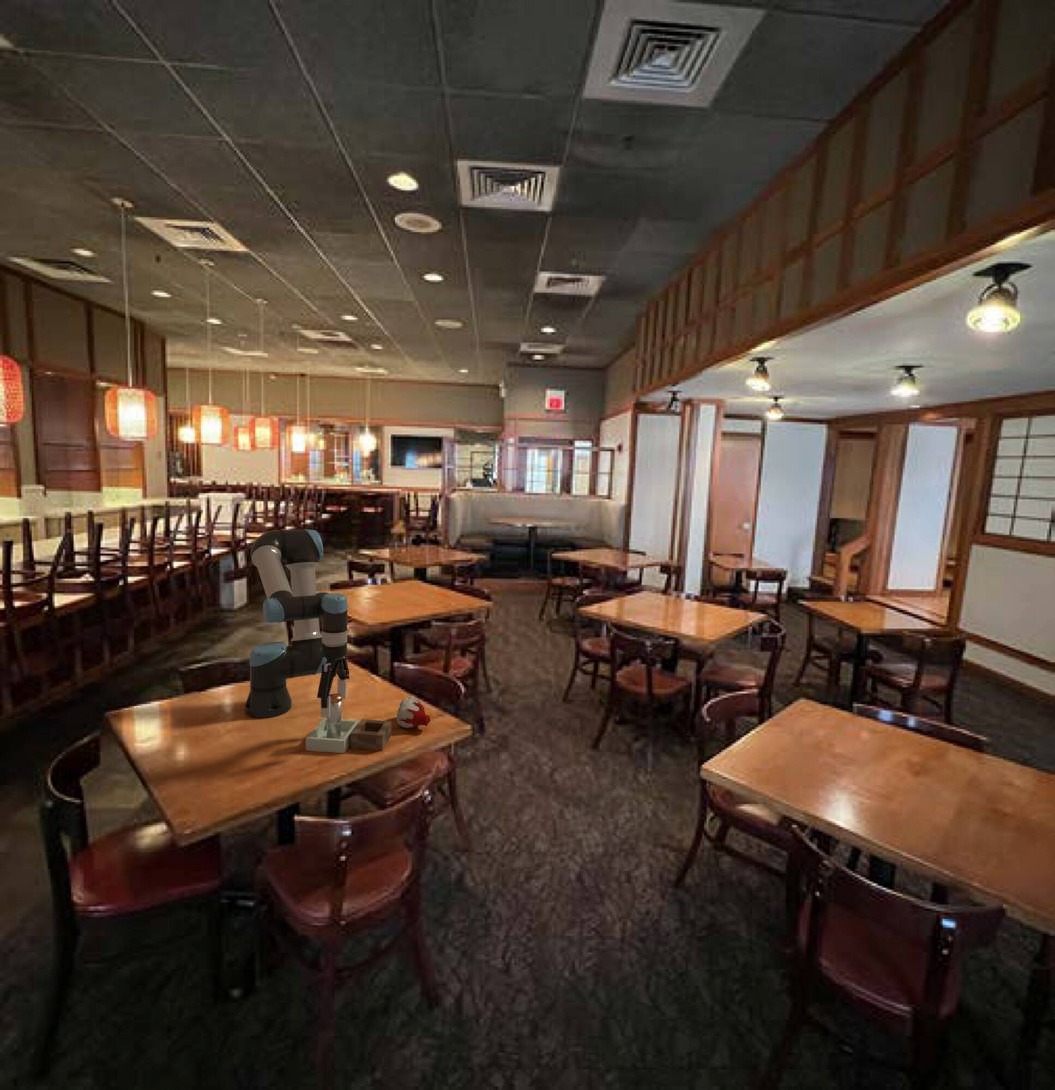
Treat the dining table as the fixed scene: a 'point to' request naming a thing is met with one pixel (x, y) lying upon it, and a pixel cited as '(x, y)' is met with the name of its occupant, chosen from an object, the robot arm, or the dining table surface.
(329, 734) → the pin
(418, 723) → the candle
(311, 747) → the tray
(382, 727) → the block
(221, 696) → the dining table surface
